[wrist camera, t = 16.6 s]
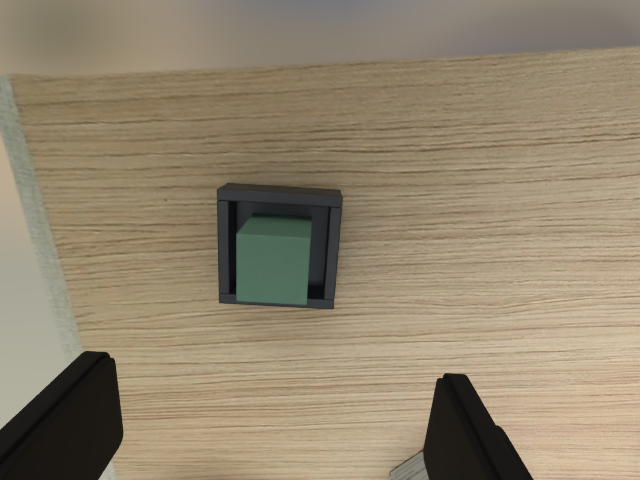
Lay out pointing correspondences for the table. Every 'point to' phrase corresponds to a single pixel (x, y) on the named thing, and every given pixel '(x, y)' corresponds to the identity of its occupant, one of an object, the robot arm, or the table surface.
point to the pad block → (273, 259)
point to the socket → (249, 199)
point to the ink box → (411, 469)
